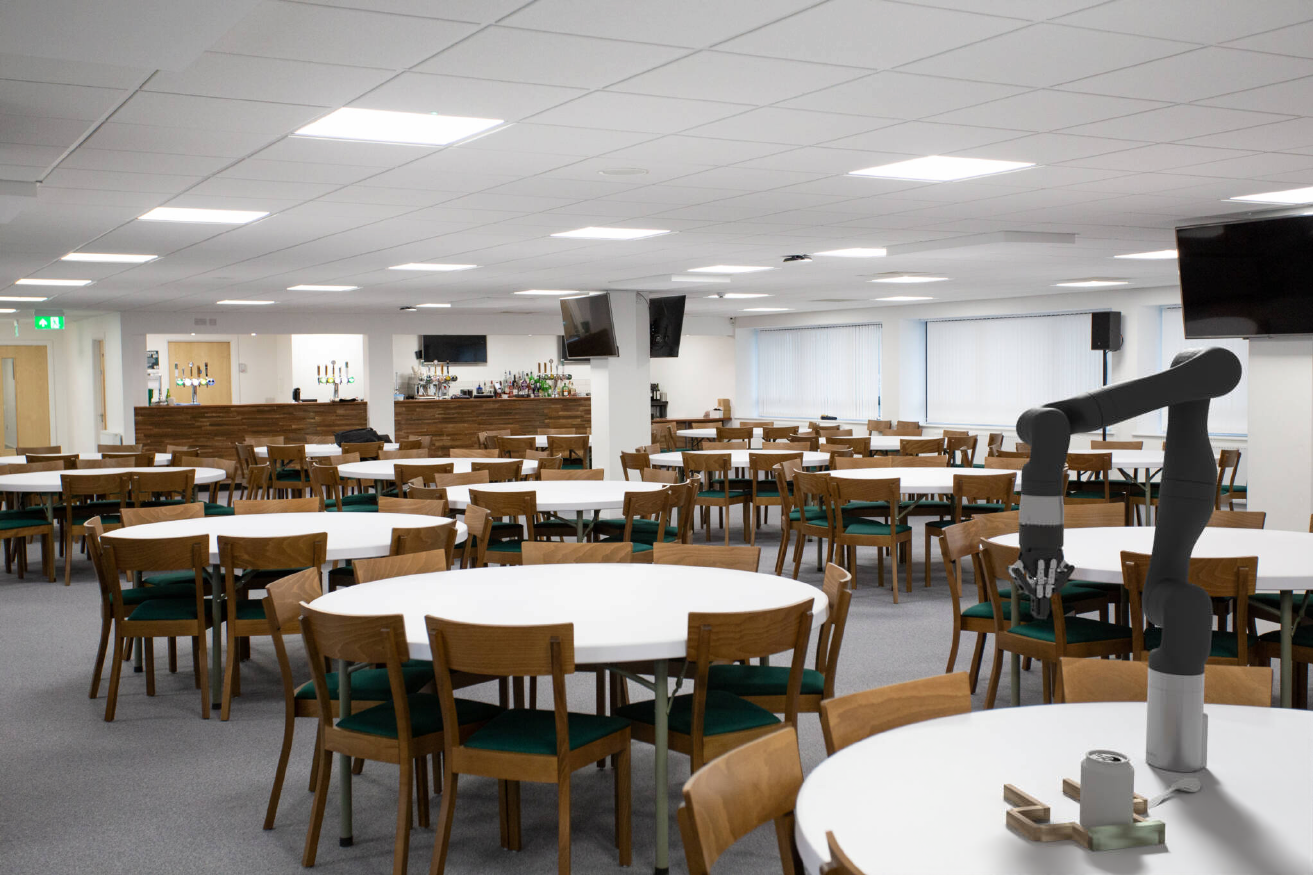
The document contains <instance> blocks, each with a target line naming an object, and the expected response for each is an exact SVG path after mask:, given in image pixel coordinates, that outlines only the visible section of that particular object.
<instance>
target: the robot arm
mask: <svg viewBox="0 0 1313 875" xmlns="http://www.w3.org/2000/svg"><path fill="white" fill-rule="evenodd" d="M1242 366H1243V365H1242V364H1241V361H1240V359H1239V358H1238V356H1237V355H1236V354H1235V353H1234V352H1233V351H1232V350H1230V349H1227V348H1225V347H1220V346H1199V347H1190V348H1185V349H1183V350H1181V351H1179V353H1177V354H1176V355H1175V356H1174V358H1173V359H1172V361H1171V364H1170V367H1169V368H1168V369H1165V370H1163V371H1159V372H1155V373H1152V374H1148V375H1146V376H1140V377H1135V378H1131V379H1127V380H1123V381H1118V382H1115V383H1110V384H1107V385H1103V386H1100V387H1097V388H1094V389H1091V390H1088V391H1086V392H1083V393H1080V394H1077V395H1075V396H1072V397H1070V398H1067V399H1061V400H1057V401H1052V402H1047V403H1044V404H1040V405H1036V406H1034V407H1033V406H1032V407H1031V408H1028V409H1027V410H1025V411H1024V412H1023V413H1022V414H1021V415H1020V416H1019V417H1018V419H1017V420H1016V425H1015V430H1016V435H1017V437H1018V438H1019V440H1020V441H1021V442H1023V443H1024V444H1025V445H1028V446H1030V453H1029V460H1028V462H1026V463H1025V464H1023V466H1022V469H1021V476H1020V480H1021V481H1020V501H1019V506H1018V507H1019V508H1018V514H1019V515H1018V545H1019V548H1020V550H1019V553H1018V555H1017V561H1016V562H1015V563H1013V564H1012V565H1007V566H1006V570H1005V571H1006V572H1007V573H1008V575H1009V577H1010V578H1011V579H1012V581H1013V582H1014V584H1015V585H1016V586H1017V588H1018V589H1019V591H1020V592H1021V593H1023V594H1025V595H1026V594H1027V595H1029V596H1030V613H1031V615H1032V616H1033V617H1034V618H1035V619H1039V620H1040V619H1042V620H1043V619H1047V618H1048V616H1049V614H1050V600H1051V596H1052V595H1054V594H1059V593H1060V592H1061V590H1062V589H1063V588H1064V586H1065V585H1066V583H1067V582H1068V580H1069V579H1070V578H1071V576H1072V575H1073V572H1074V571H1075V570H1076V568H1075V565H1074V564H1070V563H1068V562H1067V561H1066V560H1065V559H1064V558H1065V557H1064V553H1063V551H1062V549H1063V547H1064V544H1065V542H1064V538H1065V537H1064V536H1065V535H1064V534H1065V507H1064V506H1065V504H1064V468H1065V465H1066V463H1067V458H1068V453H1069V449H1070V444H1071V437H1072V436H1073V435H1077V434H1086V433H1087V434H1088V433H1092V432H1095V431H1099V430H1103V429H1105V428H1108V427H1111V426H1114V425H1116V424H1119V423H1122V422H1126V421H1128V420H1130V419H1131V420H1132V419H1133V418H1137V417H1139V416H1142V415H1145V414H1148V413H1151V412H1154V411H1157V410H1160V409H1163V408H1167V424H1166V435H1165V441H1164V442H1165V443H1164V454H1163V462H1162V468H1161V475H1160V484H1159V492H1158V501H1157V502H1158V503H1157V512H1156V520H1155V527H1154V528H1155V529H1154V535H1153V541H1152V544H1153V545H1152V550H1151V555H1150V560H1149V563H1148V568H1147V572H1146V577H1145V581H1144V584H1143V590H1142V594H1141V607H1142V612H1143V614H1144V616H1145V618H1146V619H1147V620H1148V621H1149V622H1150V623H1151V624H1152V625H1155V626H1157V627H1160V628H1161V629H1162V632H1161V641H1160V645H1159V647H1158V648H1154V649H1152V650H1150V651H1149V653H1148V658H1147V659H1148V660H1147V664H1148V665H1147V666H1148V667H1147V699H1146V733H1145V734H1146V735H1145V736H1146V738H1145V739H1146V740H1145V761H1146V762H1147V763H1148V764H1149V765H1151V766H1153V767H1156V768H1158V769H1162V770H1166V771H1172V772H1183V773H1187V772H1188V773H1189V772H1196V771H1199V770H1202V768H1206V767H1208V765H1207V764H1208V740H1209V739H1208V736H1209V735H1208V732H1209V731H1208V730H1209V715H1208V714H1207V713H1206V712H1205V711H1204V710H1205V707H1204V704H1205V701H1204V700H1205V675H1206V674H1205V671H1206V670H1205V669H1206V663H1207V661H1208V659H1209V657H1210V653H1211V648H1212V647H1211V646H1212V636H1213V625H1214V624H1213V623H1214V622H1213V621H1214V610H1213V609H1214V607H1213V603H1212V599H1211V597H1210V594H1209V593H1208V592H1207V590H1206V589H1204V588H1203V587H1201V586H1199V585H1198V584H1194V583H1191V582H1189V571H1190V561H1191V557H1192V555H1193V554H1192V553H1193V550H1194V547H1195V545H1196V543H1197V541H1198V540H1199V538H1200V537H1201V535H1202V534H1203V532H1204V530H1205V528H1206V527H1207V526H1208V524H1209V522H1210V520H1211V518H1212V516H1213V512H1214V510H1215V505H1216V497H1217V489H1218V487H1217V486H1218V477H1219V476H1218V475H1219V473H1218V465H1217V461H1216V458H1215V455H1214V450H1213V447H1212V444H1211V440H1210V436H1209V429H1208V422H1209V421H1208V419H1209V411H1210V404H1211V400H1212V399H1217V398H1221V397H1224V396H1226V395H1228V394H1230V393H1232V391H1233V390H1234V389H1236V387H1237V386H1238V385H1239V383H1240V381H1241V379H1242V374H1243V367H1242ZM1024 574H1026V576H1025V575H1024Z"/></svg>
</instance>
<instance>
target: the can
mask: <svg viewBox="0 0 1313 875" xmlns="http://www.w3.org/2000/svg"><path fill="white" fill-rule="evenodd" d="M1130 761H1131V759H1130V756H1128V755H1126V754H1125V753H1122V752H1119V751H1115V750H1109V749H1091V750H1088V751H1086V752H1085V757H1084V759H1082V760H1081V761H1080V782H1079V784H1080V800H1079V825H1081V826H1082V827H1084V828H1086V829H1087V830H1088V828H1092V827H1102V826H1111V825H1120V824H1130V823H1133V802H1134V793H1135V768H1134V766H1133V765H1132V763H1130Z"/></svg>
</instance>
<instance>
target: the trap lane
mask: <svg viewBox="0 0 1313 875" xmlns="http://www.w3.org/2000/svg"><path fill="white" fill-rule="evenodd" d="M1061 790H1062V792H1064V793H1066V794H1068V795H1069V796H1072V797H1073V798H1075V799H1077V800H1079V801H1080V782H1077V781H1075V780H1073V779H1071V778H1069V777H1068V778H1062V789H1061ZM1003 797H1004V798H1006V799H1007V800H1009V801H1011V802H1012V803H1014V805H1015V804H1016V805H1017V806H1018V807H1011V808H1010V809H1007V810H1006V814H1005V815H1006V816H1005V820H1006V821H1005V824H1006V825H1008V826H1010V827H1011V828H1013V829H1014V830H1016V831H1018V832H1019V833H1021V835H1024V836H1025V837H1026V838H1028V839H1029V840H1031V841H1033V842H1036V841H1041V842H1042V843H1046V842H1055V841H1063V840H1064V841H1066V840H1073V841H1075V842H1077V843H1078V844H1080V845H1082V846H1083V847H1085V848H1087V849H1089V850H1090V851H1091V852H1100V851H1108V850H1117V849H1118V850H1119V849H1127V848H1134V847H1135V848H1136V847H1144V846H1152V845H1161V844H1165V843H1166V822H1164V821H1162V820H1159V819H1158V820H1151V821H1150V820H1148V819H1146V818H1144V817H1142V816H1140V815H1144V814H1145V813H1147V812H1148V809H1149V808H1148V801H1149V799H1148V798H1146V797H1144V796H1142V795H1140V794H1139V793H1136V792H1134V802H1133V823H1130V824H1120V825H1111V826H1102V827H1092V828H1088V830H1087V829H1086V828H1084V827H1082V826H1081V825H1080V823H1077V822H1076V821H1070V822H1060V823H1050V821H1051V806H1049V805H1047V804H1045V803H1043V802H1042V801H1040V800H1039V799H1037V798H1035V797H1033V796H1032V795H1030V794H1029V793H1026V792H1025V791H1023V790H1022V789H1020V788H1018V787H1017V786H1015V785H1013V784H1012V783H1003Z"/></svg>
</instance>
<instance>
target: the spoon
mask: <svg viewBox="0 0 1313 875" xmlns="http://www.w3.org/2000/svg"><path fill="white" fill-rule="evenodd" d="M1201 786H1202V785H1201V782H1200V780H1199V779H1198V778H1196V777H1188V778H1187V777H1186V778H1184V779H1181V780H1178V781H1176V782H1173V783H1171V784H1170V788H1168V789H1166V791H1163V792H1162V793H1160V794H1159V795H1157V796H1155V797H1152V798H1151V799H1148V809H1153V808H1154V809H1155V807H1157V806H1158V805H1159V804H1160V803H1162V802H1163V800H1164V799H1165V798H1166V797H1167V796H1168V795H1170V794H1172V792H1174V791H1175V790H1178V791H1180V792H1185V793H1195V792H1198V791H1199V790H1200V788H1201Z"/></svg>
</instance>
